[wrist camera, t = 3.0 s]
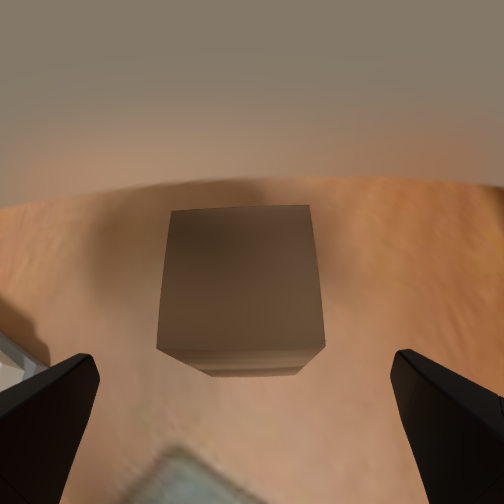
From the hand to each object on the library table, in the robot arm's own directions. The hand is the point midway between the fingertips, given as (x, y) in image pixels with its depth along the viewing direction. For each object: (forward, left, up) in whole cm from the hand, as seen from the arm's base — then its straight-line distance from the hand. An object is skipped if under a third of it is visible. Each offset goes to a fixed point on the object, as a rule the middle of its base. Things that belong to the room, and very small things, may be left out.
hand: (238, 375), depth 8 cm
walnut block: (+1, -3, -10) cm, 11 cm away
